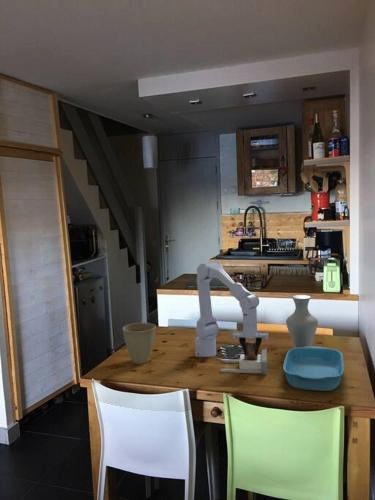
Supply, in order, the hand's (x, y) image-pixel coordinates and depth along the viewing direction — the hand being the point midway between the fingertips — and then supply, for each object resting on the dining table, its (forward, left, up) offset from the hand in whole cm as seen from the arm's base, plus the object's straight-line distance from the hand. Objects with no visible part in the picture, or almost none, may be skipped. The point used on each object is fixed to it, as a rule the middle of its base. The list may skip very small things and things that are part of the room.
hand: (251, 355), depth 182 cm
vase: (+23, +28, -6) cm, 37 cm away
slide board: (-3, 0, -6) cm, 7 cm away
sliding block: (0, 0, -5) cm, 5 cm away
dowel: (0, 0, -2) cm, 2 cm away
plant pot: (-50, +7, -6) cm, 51 cm away
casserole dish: (+25, -5, -7) cm, 26 cm away
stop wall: (+5, 0, -5) cm, 8 cm away
